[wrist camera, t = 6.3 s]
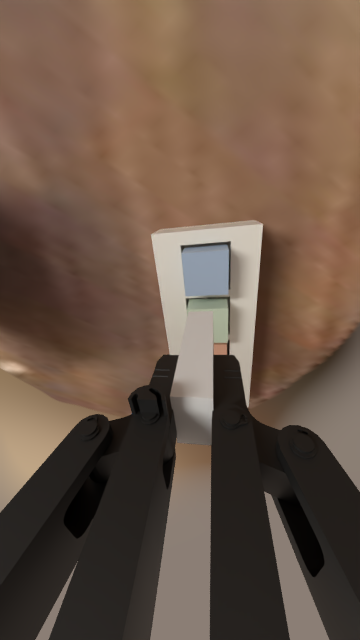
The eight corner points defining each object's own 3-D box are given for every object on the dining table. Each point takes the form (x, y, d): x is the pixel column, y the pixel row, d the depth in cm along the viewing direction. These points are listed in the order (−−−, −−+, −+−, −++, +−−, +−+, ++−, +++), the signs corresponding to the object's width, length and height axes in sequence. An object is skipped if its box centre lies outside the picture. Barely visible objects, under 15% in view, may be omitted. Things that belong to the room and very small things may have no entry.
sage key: (191, 330, 30) (189, 342, 27) (189, 299, 28) (186, 309, 25) (226, 330, 29) (227, 342, 26) (226, 297, 27) (228, 308, 24)
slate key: (188, 287, 27) (185, 296, 24) (184, 247, 24) (181, 253, 22) (226, 285, 26) (228, 294, 23) (227, 244, 24) (228, 249, 21)
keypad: (181, 383, 41) (177, 404, 37) (160, 229, 28) (151, 234, 24) (244, 384, 39) (248, 407, 35) (254, 220, 26) (262, 223, 22)
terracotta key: (195, 358, 35) (194, 370, 32) (193, 333, 32) (192, 344, 30) (225, 358, 34) (226, 371, 31) (225, 333, 32) (227, 344, 29)
